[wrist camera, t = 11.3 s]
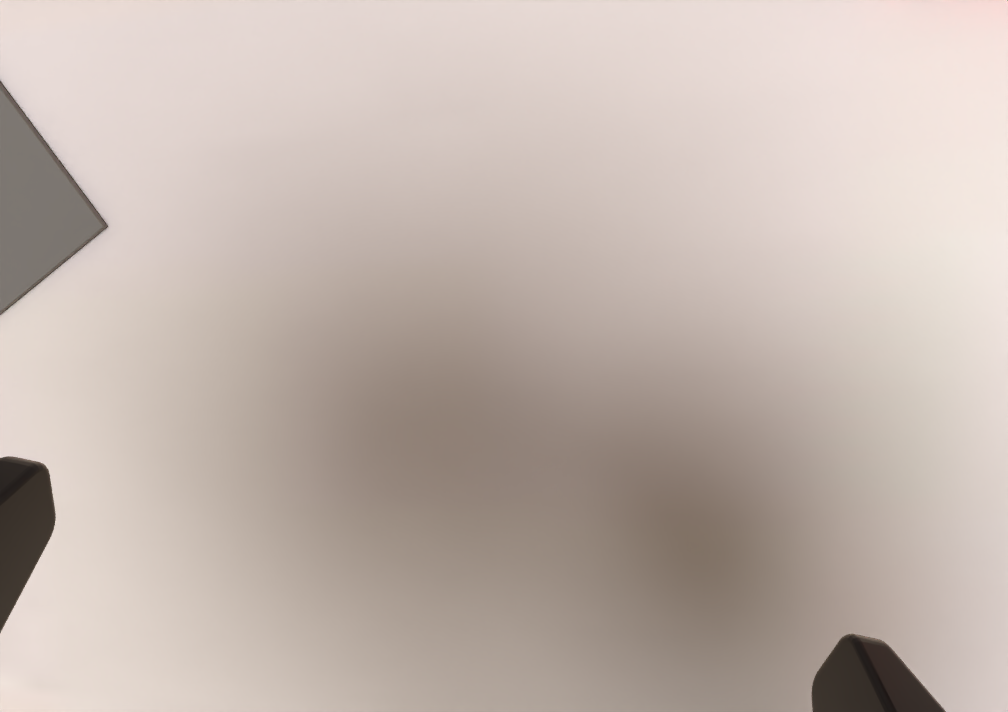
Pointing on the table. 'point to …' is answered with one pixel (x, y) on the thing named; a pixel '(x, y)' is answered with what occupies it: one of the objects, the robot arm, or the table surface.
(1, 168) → the mat
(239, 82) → the table surface
